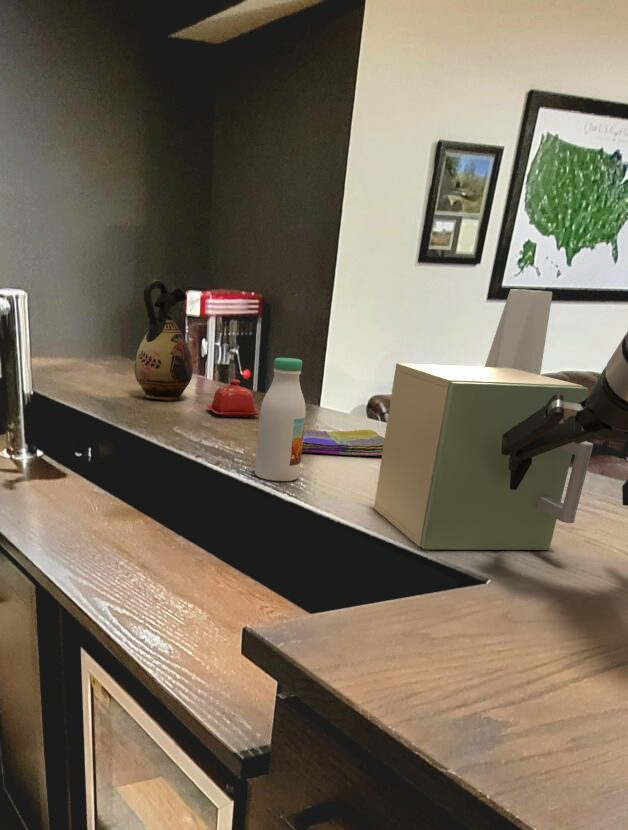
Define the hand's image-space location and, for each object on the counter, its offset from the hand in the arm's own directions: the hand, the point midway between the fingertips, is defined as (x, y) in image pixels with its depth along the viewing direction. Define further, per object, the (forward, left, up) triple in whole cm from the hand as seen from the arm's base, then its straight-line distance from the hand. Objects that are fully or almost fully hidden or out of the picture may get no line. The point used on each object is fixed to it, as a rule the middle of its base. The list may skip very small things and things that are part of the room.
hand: (568, 488), depth 90 cm
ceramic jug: (+40, -112, -10) cm, 119 cm away
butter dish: (+24, -93, -10) cm, 96 cm away
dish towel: (+10, -62, -10) cm, 63 cm away
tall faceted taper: (-15, -42, -10) cm, 46 cm away
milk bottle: (+27, -38, -10) cm, 47 cm away
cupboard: (+7, -13, -10) cm, 17 cm away
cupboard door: (+7, -1, -10) cm, 12 cm away
